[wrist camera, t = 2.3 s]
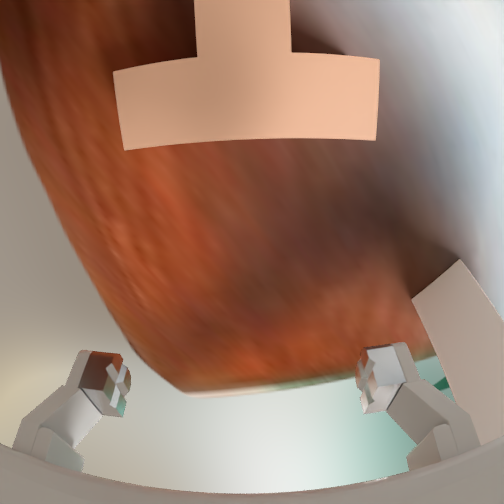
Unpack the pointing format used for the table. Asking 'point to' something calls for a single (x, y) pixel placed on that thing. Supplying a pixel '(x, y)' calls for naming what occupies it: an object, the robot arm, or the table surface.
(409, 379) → the robot arm
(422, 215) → the table surface
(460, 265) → the milk
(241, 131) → the T block
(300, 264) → the table surface
